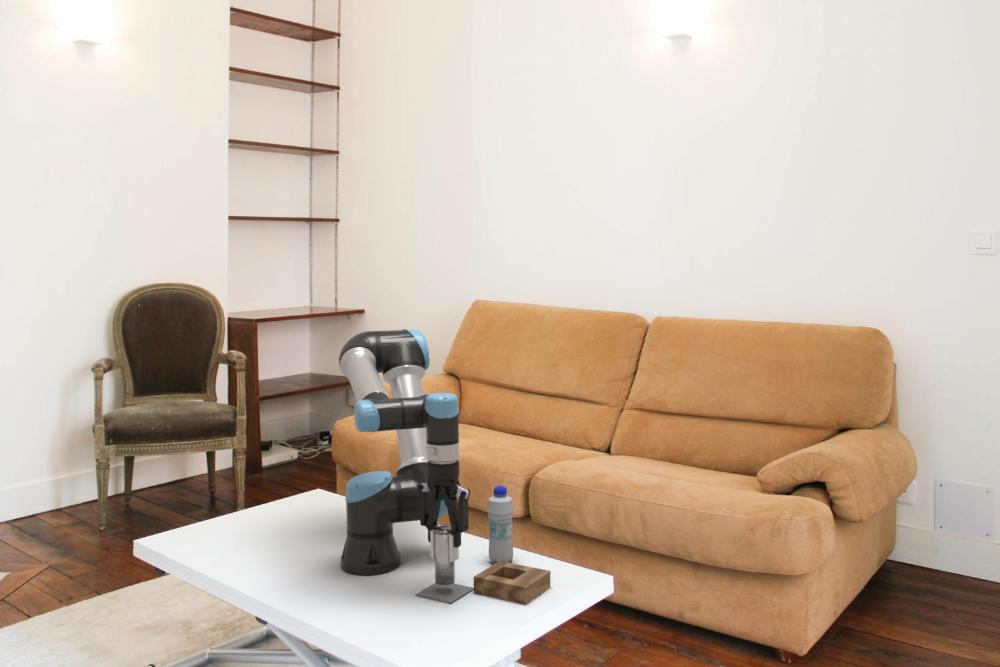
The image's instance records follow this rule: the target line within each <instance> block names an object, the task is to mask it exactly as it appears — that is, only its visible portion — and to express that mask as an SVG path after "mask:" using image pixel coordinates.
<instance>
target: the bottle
mask: <svg viewBox="0 0 1000 667" xmlns="http://www.w3.org/2000/svg"><path fill="white" fill-rule="evenodd" d="M513 504H514V503H513V498H512V497H511V496H509V495H508V489H507V487H506V486H504V485H496V486H494V488H493V495H492V496H490V497H489V498H488V502H487V509H486V510H487V517H488V525H489V526H488V533H489V534H488V536H489V537H488V538H489V540H488V558H489V560H490V562H491V563H492V565H494V564H495V563H497V562H499V561H503V562H508V563H512V561H513V558H514V542H513V517H514V505H513Z"/></svg>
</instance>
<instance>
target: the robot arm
mask: <svg viewBox="0 0 1000 667" xmlns="http://www.w3.org/2000/svg"><path fill="white" fill-rule="evenodd" d="M430 360H431V359H430V351H429V346H428V343H427V340H426V337H425V336H424V334H423V333H422V332H421V331H419V330H418V329H407V328H405V329H398V330H397V329H396V330H370V331H369V330H368V331H362V332H360V333H357V334H355V335H354V336H352V337H350V338H349V340H347V341H346V343H344V345H343V346H342V348H341V350H340V352H339V357H338V365H339V366H338V367H339V368H340V371H341V373H342V375H343V376H344V377H346V378H347V379H348V381H349V384H350V386H351V390H352V391H353V393H354V397H355V399H356V402H355V404H354V407H353V418H354V425H355V428H356V431H358V432H360V433H377V432H386V431H395V432H396V439H397V445H398V452H399V453H398V454H399V460H400V465H399V467H398V469H396V471H395V473H396V476H393V475H392V473H391V472H390V471H387V470H380V471H379V470H375V471H373V470H372V471H368V472H364V473H360V474H358V475H355V476H354V477H351V479H349V480H348V482H347V483H346V485H345V486H346V487H345V498H344V500H345V503H346V504H345V506H346V507H345V508H346V509H345V512H346V533H347V534H346V539H345V542H344V546H343V550H342V554H341V557H340V568H341V569H342V570H343V571H344V572H346V573H348V574H353V575H358V576H360V575H361V576H371V575H373V576H374V575H380V574H384V573H389V572H392V571H394V570H396V569H398V568H399V567H400V565H401V559H402V558H401V553H400V551H399V547H398V544H397V542H396V539H395V535H394V527H393V526H394V524H396V523H408V522H415V521H416V522H417V521H418V522H419V521H420V522H419V524H420V526H421V527H425V528H426V529H427V540H428V543H429V544H430V558H431V559H435V543H434V528H435V527H437V526H439V524H438V520H439V518H443V517H444V516H446V514H447V515H448V519H449V523H450V525H449V526H451V529H452V533H450V534H449V551H450V562H453V561H455V562H456V561H457V560H459V559H460V551H459V549H460V548H459V547H461V546H462V533H464V532H467V531H468V530H469V528H470V526H469V523H470V522H469V498H470V495H471V489H469V488H467V489H465V488H463V487H461V483H460V480H459V477H460V461H459V459H460V437H459V436H460V432H459V426H460V425H459V422H460V421H459V419H460V418H459V415H460V414H459V412H460V407H459V398H458V396H457V395H456V394H454V393H450V392H433V393H424V392H423V387H422V386H423V385H422V379H423V378H424V377H425V375H426V371H427V370H428V369H429V367H430ZM380 374H382V378H383V381H384V382H386V383H387V384H389V388H390V395H391V397H390V396H389V394H388V392H387V390H386V387H385V385H384V383H383V381H382V378H381V377H380Z"/></svg>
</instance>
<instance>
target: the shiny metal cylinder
mask: <svg viewBox="0 0 1000 667" xmlns="http://www.w3.org/2000/svg"><path fill="white" fill-rule="evenodd" d="M450 533H452V529H451V525H445V524H444V525H438V526H437V527H435V528H434V543H435V558H434V578H435V579H434V581H435V582H434V583H436V584H439V585H450V584H453V583H455V582H456V580H455V579H456V572H455V571H456V570H455V569H456V568H455V566H456V560H455V561H453V562H450V551H449V534H450Z"/></svg>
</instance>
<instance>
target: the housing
mask: <svg viewBox="0 0 1000 667" xmlns="http://www.w3.org/2000/svg"><path fill="white" fill-rule="evenodd" d="M473 588H474V590H473V594H477V595H481V596H484V597H485V596H486V597H490V598H493V599H499V600H502V601H507V602H512V603H517V604H521V605H525V606H526V605H528V604H529V603H530V602H532V601H533V600H535V599H536V598H538V597H539V596H540V595H542V594H543V593H544V592H546V591H547V590H549V589H550V588H551V570H547V569H542V568H538V567H532V566H526V565H522V564H518V563H512V562H510V563H508V562H504V561H499V562H497V561H496V563H495V564H491V565H490V566H489V567H487V568H486V569H484V570H482V571H480V572H479V573H477V574H476V575H474V576H473ZM548 588H549V589H548ZM545 590H546V591H545Z"/></svg>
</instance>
